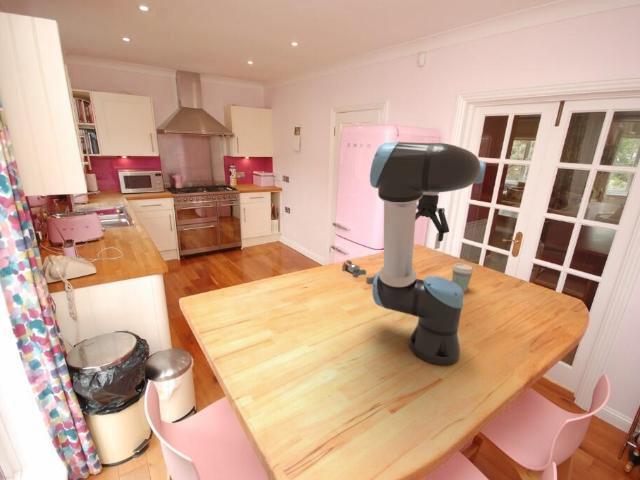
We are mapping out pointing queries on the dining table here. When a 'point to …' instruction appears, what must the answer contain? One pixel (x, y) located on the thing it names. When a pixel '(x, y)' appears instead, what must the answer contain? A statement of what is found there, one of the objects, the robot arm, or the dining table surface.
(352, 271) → the pipe fitting
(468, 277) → the coffee cup
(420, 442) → the dining table surface
